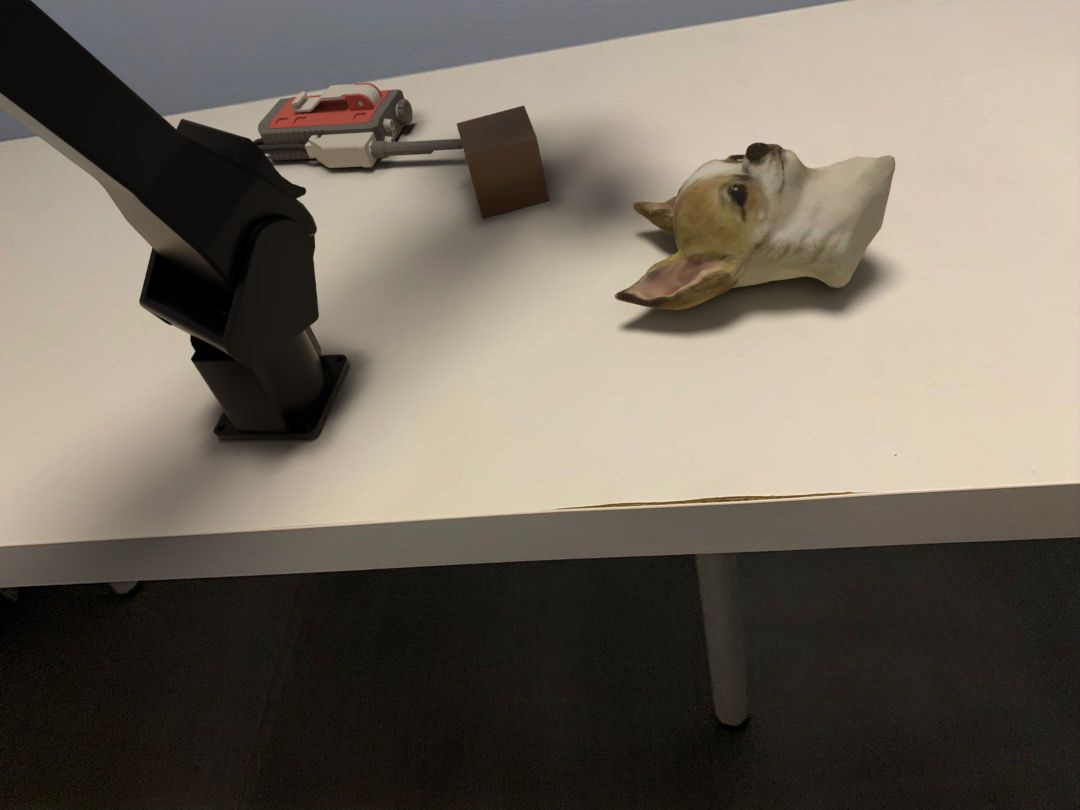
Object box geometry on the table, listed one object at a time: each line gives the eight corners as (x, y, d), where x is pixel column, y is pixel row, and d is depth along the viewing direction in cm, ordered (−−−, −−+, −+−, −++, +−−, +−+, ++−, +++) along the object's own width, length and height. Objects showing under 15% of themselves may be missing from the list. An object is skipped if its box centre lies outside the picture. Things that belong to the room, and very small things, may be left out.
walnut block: (549, 200, 60) (536, 136, 57) (482, 218, 60) (464, 155, 57) (536, 167, 64) (524, 105, 60) (473, 184, 64) (456, 123, 60)
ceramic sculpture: (908, 186, 39) (592, 217, 44) (898, 328, 45) (621, 343, 50) (888, 79, 46) (619, 116, 51) (882, 214, 52) (641, 236, 57)
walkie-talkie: (244, 177, 72) (465, 168, 66) (221, 129, 68) (450, 115, 63) (288, 124, 77) (495, 111, 72) (268, 78, 74) (482, 60, 68)
